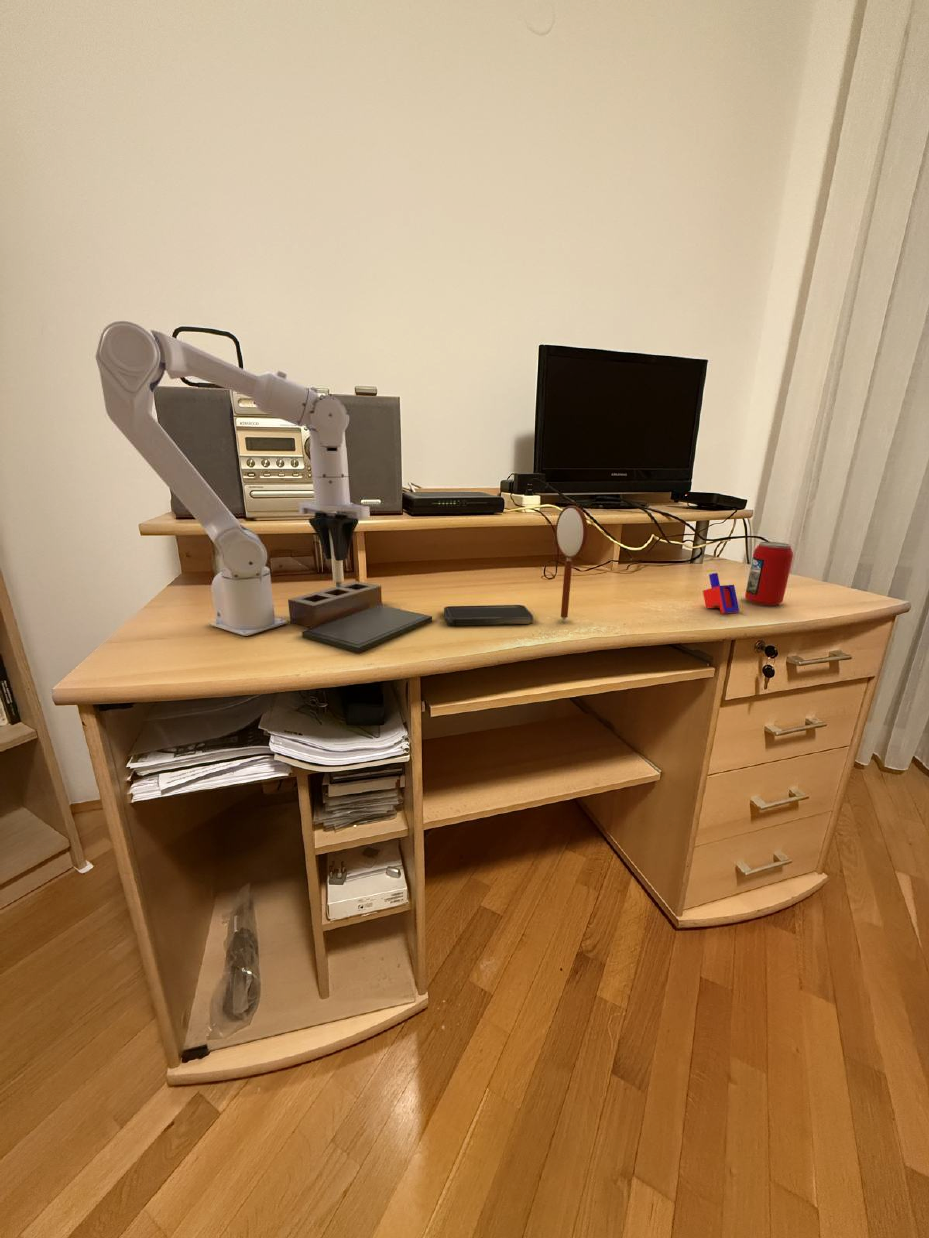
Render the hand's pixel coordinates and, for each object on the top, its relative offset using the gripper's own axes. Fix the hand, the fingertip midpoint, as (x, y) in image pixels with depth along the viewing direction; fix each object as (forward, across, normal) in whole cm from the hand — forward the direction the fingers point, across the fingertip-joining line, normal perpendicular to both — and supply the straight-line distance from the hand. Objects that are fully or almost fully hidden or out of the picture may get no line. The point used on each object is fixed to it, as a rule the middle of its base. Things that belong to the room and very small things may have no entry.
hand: (336, 559), depth 84 cm
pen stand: (+10, +1, 0) cm, 10 cm away
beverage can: (+11, -64, -55) cm, 85 cm away
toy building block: (+11, -56, -44) cm, 73 cm away
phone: (+10, -22, -13) cm, 28 cm away
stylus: (+5, 0, 0) cm, 5 cm away
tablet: (+10, -9, +3) cm, 14 cm away
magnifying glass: (+11, -34, -19) cm, 41 cm away
